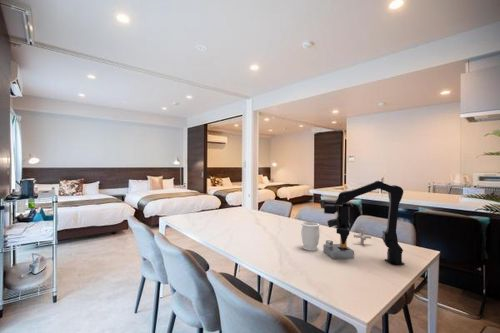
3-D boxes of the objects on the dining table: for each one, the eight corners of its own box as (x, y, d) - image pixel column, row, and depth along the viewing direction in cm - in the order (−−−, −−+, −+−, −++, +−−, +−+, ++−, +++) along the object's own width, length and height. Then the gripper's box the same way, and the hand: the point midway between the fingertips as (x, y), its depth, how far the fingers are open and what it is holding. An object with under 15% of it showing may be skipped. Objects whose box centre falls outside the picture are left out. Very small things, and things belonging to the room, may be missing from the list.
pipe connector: (373, 247, 146) (373, 231, 146) (355, 246, 148) (355, 230, 148) (368, 242, 156) (368, 227, 156) (352, 241, 158) (352, 226, 158)
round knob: (348, 248, 130) (348, 233, 130) (341, 248, 130) (341, 234, 130) (344, 245, 134) (345, 231, 134) (338, 246, 133) (338, 232, 133)
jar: (306, 252, 137) (306, 226, 137) (298, 246, 147) (298, 222, 147) (322, 250, 139) (323, 225, 140) (313, 245, 149) (313, 221, 150)
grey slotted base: (354, 258, 128) (354, 246, 128) (332, 259, 127) (332, 246, 127) (343, 250, 140) (343, 239, 140) (323, 251, 139) (323, 240, 139)
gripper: (329, 210, 143) (329, 236, 143) (326, 216, 126) (326, 246, 126) (350, 212, 139) (349, 239, 139) (349, 218, 122) (349, 249, 122)
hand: (343, 243), depth 132 cm, fingers closed on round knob, 3 cm apart
